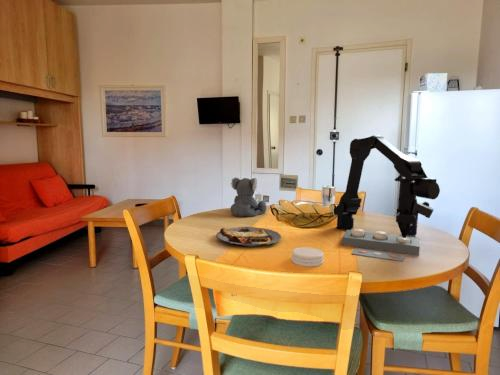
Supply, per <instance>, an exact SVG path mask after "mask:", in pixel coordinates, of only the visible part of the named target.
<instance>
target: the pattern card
mask: <svg viewBox="0 0 500 375" xmlns="http://www.w3.org/2000/svg"><path fill="white" fill-rule="evenodd" d="M353 254H355V256H359V257H360V256H362V257H367V258H368V257H369V258H377V259H380V260H381V259H382V260H388V261H389V260H390V261H398V262H403V261H404V253H398V252H390V251H383V250H376V249H368V248H361V247H353V251H352V252H351V255H353Z"/></svg>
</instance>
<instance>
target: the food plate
mask: <svg viewBox="0 0 500 375" xmlns="http://www.w3.org/2000/svg"><path fill="white" fill-rule="evenodd" d="M215 237H216V238H217V240H220V241H221V242H223V243H226V244H227V243H228V244H230V245H233V244H234V245H237V246H239V245H241V246H244V247H251V248H253V247H256V246H262V245H264V246H265V245H270V244H276V243H278V242H279V240H280V239H282V235H281V234H280V233H279V232H278V231H275V230H273V229H269V228H264V227H254V226H242V227H241V226H239V227H232V228H226V227H222V228H220V230H219V231H218V232H217V233H216V235H215Z"/></svg>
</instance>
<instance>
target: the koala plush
mask: <svg viewBox="0 0 500 375" xmlns="http://www.w3.org/2000/svg"><path fill="white" fill-rule="evenodd" d="M230 184H231V185H230V186H231V188H232V189H233V190H235V191H236V194H237V195H236V196H234V200H233V201H234V203H232V204H231V205H230V209H229V210H230V211H231V213H232V215H233V216H235V217H240V218H241V217H248V218H249V217H250V218H251V217H256V216H260V215H263V214H265V213H266V212H267V203H266V201H265V200H260V201H258V202H257V200H256V198H254V197H253V196H254V194H255V191H256V189H257V187H258V186H257V184H258V178H256V177H253V178H250V179H249V178H247V177H244V178H241V179H240V178H238V177H234V178H231V182H230Z"/></svg>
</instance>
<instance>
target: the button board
mask: <svg viewBox="0 0 500 375" xmlns="http://www.w3.org/2000/svg"><path fill="white" fill-rule="evenodd" d="M400 237H402V235H398V234H396V235H395V234H388V233H387V240H383V239H374V232H372V231H371V232H370V231H364V237H358V236H352V229H351V230H345V232H344V233H343V235H342V236H341V246H346V245H351V246H350V247H353V248H360V249H368V250H375V251H383V252H390V253H398V254H407V255H414V256H420V247H421V246H420V240H419V237H416V236H414V237H407V236H406V238H408V239H410V243H407V242H399V241H397V238H400ZM402 238H403V237H402Z"/></svg>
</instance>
